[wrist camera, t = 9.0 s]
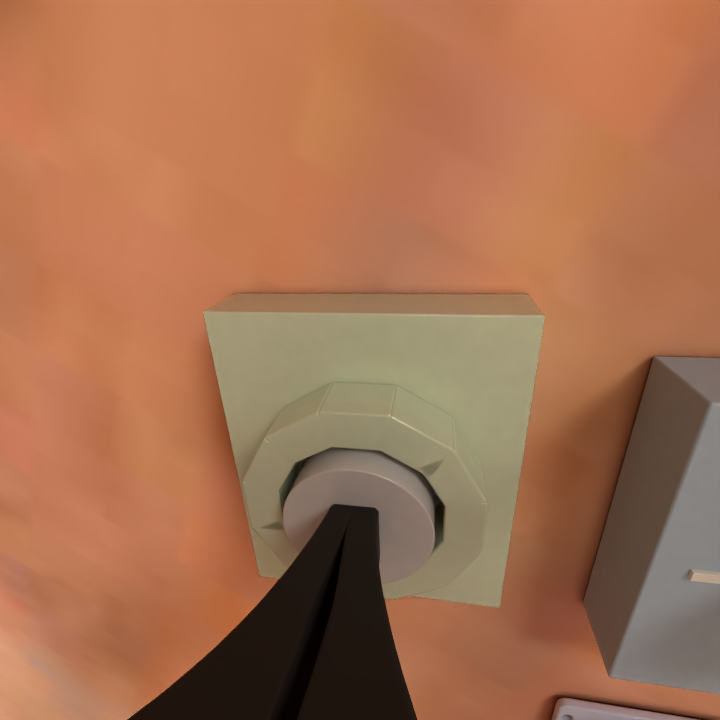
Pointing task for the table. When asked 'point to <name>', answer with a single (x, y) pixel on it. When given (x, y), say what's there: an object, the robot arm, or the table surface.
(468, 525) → the button base
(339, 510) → the robot arm
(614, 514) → the dial panel
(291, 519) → the button
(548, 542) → the table surface
